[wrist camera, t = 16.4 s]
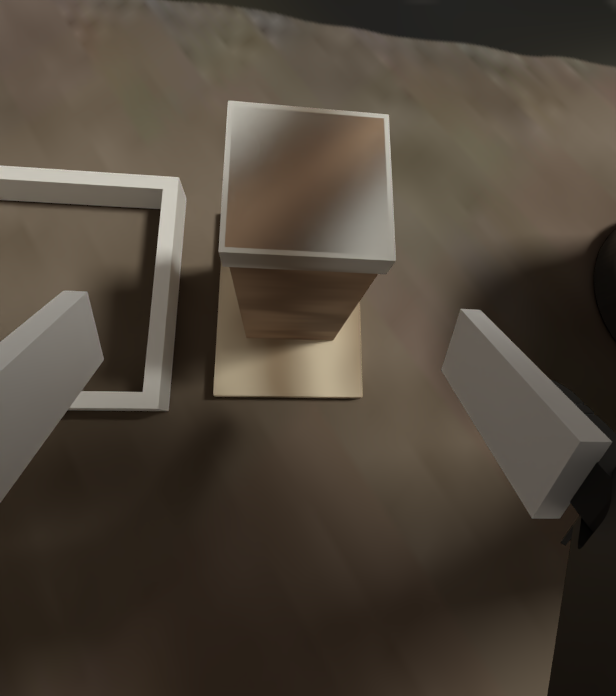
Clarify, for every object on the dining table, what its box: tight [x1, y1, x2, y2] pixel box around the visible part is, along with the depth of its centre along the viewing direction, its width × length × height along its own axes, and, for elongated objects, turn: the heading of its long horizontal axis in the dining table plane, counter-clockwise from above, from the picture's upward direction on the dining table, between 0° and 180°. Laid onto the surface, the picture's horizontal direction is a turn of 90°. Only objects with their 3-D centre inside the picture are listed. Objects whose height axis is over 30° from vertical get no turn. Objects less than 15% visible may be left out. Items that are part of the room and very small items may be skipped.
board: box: [213, 263, 363, 398], centre depth 27 cm, size 10×14×1 cm
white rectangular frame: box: [0, 166, 186, 411], centre depth 25 cm, size 20×16×2 cm
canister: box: [218, 101, 396, 340], centre depth 21 cm, size 6×6×13 cm
